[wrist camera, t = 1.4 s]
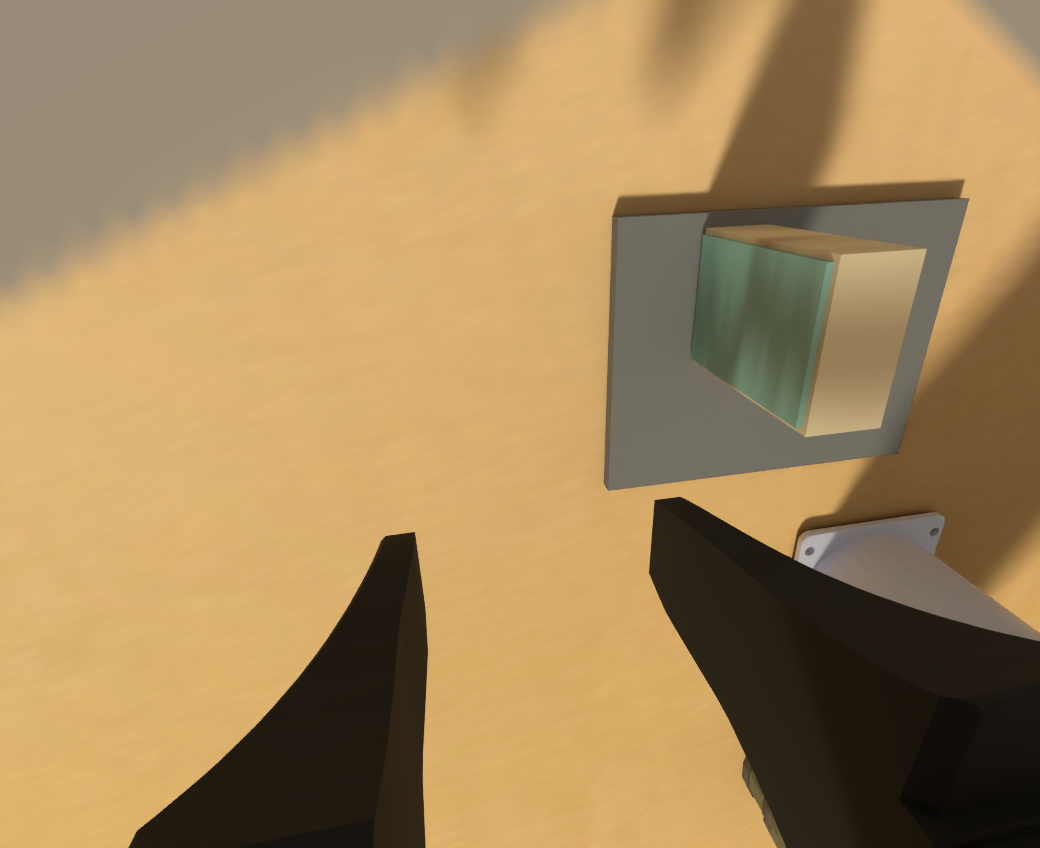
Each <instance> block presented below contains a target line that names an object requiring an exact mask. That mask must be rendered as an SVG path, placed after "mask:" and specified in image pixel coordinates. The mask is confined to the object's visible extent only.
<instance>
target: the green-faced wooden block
mask: <svg viewBox="0 0 1040 848" xmlns="http://www.w3.org/2000/svg"><path fill="white" fill-rule="evenodd" d="M926 251H927V249H925V248H919V247H912V246H906V245H899V244H893V243H886V242H880V241H873V240H867V239H860V238H854V237H847V236H841V235H834V234H828V233H822V232H815V231H809V230H802V229H796V228H789V227H783V226H776V225H770V224H762V225H745V226H728V227H711V228H706V234H704V235H703V239H702V249H701V259H700V270H699V280H698V290H697V300H696V311H695V321H694V331H693V342H692V352H691V359H693V362H695V363H696V364H698V365H699V366H701V367H702V368H704V369H705V370H707V371H708V372H710V373H711V374H713V375H714V376H716V377H717V378H718V379H720V380H721V381H723V382H724V383H726V384H727V385H729V386H730V387H732V388H733V389H735V390H736V391H738V392H739V393H741V394H742V395H744V396H745V397H747V398H748V399H749V400H751V401H752V402H754V403H755V404H757V405H758V406H760V407H761V408H763V409H764V410H766V411H767V412H769V413H770V414H772V415H773V416H775V417H776V418H778V419H779V420H780V421H782V422H783V423H785V424H786V425H788V426H789V427H791V428H792V429H794V430H795V431H797V432H798V433H800V434H801V435H803V436H804V437H810V436H819V435H827V434H835V433H844V432H852V431H860V430H868V429H877V428H881V424H882V420H883V416H884V412H885V408H886V405H887V401H888V397H889V393H890V389H891V385H892V381H893V378H894V374H895V370H896V366H897V362H898V358H899V354H900V351H901V347H902V343H903V339H904V335H905V331H906V328H907V324H908V320H909V316H910V312H911V308H912V304H913V301H914V297H915V293H916V289H917V285H918V281H919V278H920V274H921V270H922V266H923V262H924V258H925V254H926Z"/></svg>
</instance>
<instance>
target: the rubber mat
mask: <svg viewBox="0 0 1040 848" xmlns="http://www.w3.org/2000/svg"><path fill="white" fill-rule="evenodd" d="M968 202H969V199H967V198H945V199H926V200H908V201H889V202H871V203H852V204H834V205H815V206H797V207H778V208H760V209H741V210H723V211H704V212H686V213H667V214H649V215H630V216H613V219H612V250H611V281H610V313H609V344H608V375H607V406H606V437H605V468H604V484H605V486H606V488H607V489H608V491H610V490H618V489H626V488H634V487H641V486H649V485H657V484H665V483H672V482H680V481H688V480H696V479H703V478H711V477H719V476H727V475H735V474H742V473H750V472H758V471H766V470H773V469H781V468H789V467H797V466H804V465H812V464H820V463H828V462H835V461H843V460H851V459H859V458H867V457H874V456H882V455H890V454H898V451H899V448H900V444H901V441H902V437H903V434H904V430H905V426H906V423H907V419H908V416H909V412H910V409H911V405H912V401H913V398H914V394H915V391H916V387H917V384H918V380H919V376H920V373H921V369H922V366H923V362H924V359H925V355H926V351H927V348H928V344H929V341H930V337H931V334H932V330H933V326H934V323H935V319H936V316H937V312H938V309H939V305H940V301H941V298H942V294H943V291H944V287H945V284H946V280H947V277H948V273H949V269H950V266H951V262H952V259H953V255H954V252H955V248H956V244H957V241H958V237H959V234H960V230H961V227H962V223H963V219H964V216H965V212H966V209H967V205H968ZM762 224H770V225H776V226H783V227H789V228H796V229H802V230H809V231H815V232H822V233H828V234H834V235H841V236H847V237H854V238H860V239H867V240H873V241H880V242H886V243H893V244H899V245H906V246H912V247H919V248H925V249H927V251H926V254H925V258H924V262H923V266H922V270H921V274H920V278H919V281H918V285H917V289H916V293H915V297H914V301H913V304H912V308H911V312H910V316H909V320H908V324H907V328H906V331H905V335H904V339H903V343H902V347H901V351H900V354H899V358H898V362H897V366H896V370H895V374H894V378H893V381H892V385H891V389H890V393H889V397H888V401H887V405H886V408H885V412H884V416H883V420H882V424H881V428H877V429H868V430H860V431H852V432H844V433H835V434H827V435H819V436H810V437H804V436H803V435H801V434H800V433H798V432H797V431H795V430H794V429H792V428H791V427H789V426H788V425H786V424H785V423H783V422H782V421H780V420H779V419H778V418H776V417H775V416H773V415H772V414H770V413H769V412H767V411H766V410H764V409H763V408H761V407H760V406H758V405H757V404H755V403H754V402H752V401H751V400H749V399H748V398H747V397H745V396H744V395H742V394H741V393H739V392H738V391H736V390H735V389H733V388H732V387H730V386H729V385H727V384H726V383H724V382H723V381H721V380H720V379H718V378H717V377H716V376H714V375H713V374H711V373H710V372H708V371H707V370H705V369H704V368H702V367H701V366H699V365H698V364H696V363H695V362H693V359H691V352H692V342H693V331H694V321H695V311H696V300H697V290H698V280H699V270H700V259H701V249H702V239H703V235H704V234H706V228H711V227H728V226H745V225H762Z"/></svg>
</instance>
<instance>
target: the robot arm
mask: <svg viewBox="0 0 1040 848" xmlns="http://www.w3.org/2000/svg"><path fill="white" fill-rule="evenodd" d="M944 523H945V518H944V516H942V515H941V514H939V513H938V512H931V513H924V514H917V515H910V516H903V517H897V518H890V519H883V520H876V521H870V522H863V523H856V524H849V525H843V526H836V527H829V528H822V529H815V530H809V531H806V532H804V533H802V534H801V535H800V537H799V539H798V543H797V547H796V552H795V557H794V559H792V558H790V557H788V556H786V555H784V554H782V553H780V552H778V551H776V550H774V549H773V548H771V547H769V546H767V545H765V544H763V543H761V542H760V541H758V540H756V539H754V538H752V537H751V536H749V535H747V534H745V533H744V532H742V531H740V530H738V529H737V528H735V527H733V526H731V525H730V524H728V523H726V522H724V521H723V520H721V519H719V518H718V517H716V516H714V515H712V514H711V513H709V512H707V511H706V510H704V509H702V508H700V507H699V506H697V505H695V504H693V503H691V502H689V501H688V500H686V499H684V498H682V497H675V498H668V499H660V500H655V503H654V516H653V529H652V542H651V555H650V568H649V574H650V576H651V579H652V581H653V583H654V586H655V588H656V591H657V593H658V595H659V598H660V600H661V602H662V604H663V607H664V609H665V611H666V613H667V615H668V617H669V618H670V620H671V622H672V623H673V625H674V627H675V629H676V630H677V632H678V634H679V635H680V637H681V639H682V640H683V642H684V644H685V645H686V647H687V649H688V650H689V652H690V654H691V655H692V657H693V659H694V660H695V662H696V664H697V665H698V667H699V669H700V670H701V672H702V674H703V675H704V677H705V679H706V680H707V682H708V684H709V685H710V687H711V689H712V690H713V692H714V694H715V695H716V697H717V699H718V701H719V702H720V704H721V706H722V708H723V710H724V712H725V713H726V715H727V717H728V719H729V721H730V723H731V725H732V727H733V729H734V731H735V734H736V736H737V738H738V740H739V742H740V744H741V746H742V748H743V750H744V753H745V755H746V757H747V759H748V761H749V763H750V765H751V768H752V770H753V772H754V774H755V777H756V779H757V781H758V783H759V786H760V788H761V790H762V792H763V795H764V797H765V799H766V801H767V803H768V806H769V808H770V810H771V812H772V815H773V817H774V820H775V822H776V824H777V827H778V829H779V832H780V834H781V836H782V839H783V841H784V844H785V846H786V848H1040V633H1039V632H1038V631H1036V630H1035V629H1033V628H1032V627H1031V626H1029V625H1028V624H1027V623H1025V622H1024V621H1023V620H1021V619H1020V618H1019V617H1017V616H1016V615H1014V614H1013V613H1012V612H1010V611H1009V610H1008V609H1006V608H1005V607H1004V606H1002V605H1001V604H1000V603H998V602H997V601H995V600H994V599H993V598H991V597H990V596H989V595H987V594H986V593H985V592H983V591H982V590H981V589H979V588H978V587H976V586H975V585H974V584H972V583H971V582H970V581H968V580H967V579H966V578H964V577H963V576H961V575H960V574H959V573H957V572H956V571H955V570H953V569H952V568H951V567H949V566H948V565H947V564H945V563H944V562H942V561H941V560H940V559H938V558H937V557H936V556H934V553H935V550H936V547H937V544H938V541H939V538H940V535H941V532H942V529H943V526H944ZM806 549H807V550H806ZM427 659H428V645H427V628H426V612H425V602H424V595H423V588H422V580H421V573H420V566H419V559H418V551H417V544H416V537H415V532H412V533H405V534H397V535H390V536H385V537H384V538H383V540H382V541H381V542H380V545H379V548H378V550H377V552H376V555H375V557H374V559H373V561H372V563H371V566H370V568H369V570H368V572H367V574H366V576H365V577H364V579H363V581H362V583H361V585H360V587H359V588H358V590H357V592H356V594H355V596H354V597H353V599H352V601H351V603H350V604H349V606H348V608H347V609H346V611H345V613H344V614H343V616H342V617H341V619H340V620H339V622H338V623H337V625H336V626H335V628H334V629H333V631H332V633H331V634H330V636H329V637H328V639H327V640H326V642H325V643H324V644H323V646H322V647H321V649H320V650H319V651H318V653H317V654H316V655H315V657H314V658H313V659H312V661H311V662H310V663H309V665H308V666H307V667H306V668H305V670H304V671H303V672H302V674H301V675H300V676H299V677H298V679H297V680H296V681H295V682H294V683H293V685H292V686H291V687H290V688H289V689H288V690H287V692H286V693H285V694H284V695H283V696H282V697H281V698H280V700H279V701H278V702H277V703H276V704H275V705H274V707H273V708H272V709H271V710H270V711H269V712H268V713H267V714H266V715H265V716H264V717H263V719H262V720H261V721H260V722H259V723H258V724H257V725H256V726H255V727H254V728H253V729H252V730H251V731H250V732H249V733H248V734H247V735H246V736H245V737H244V738H243V739H242V740H241V741H240V742H239V743H238V744H237V745H236V746H235V747H234V748H233V749H232V750H231V751H230V752H229V753H228V754H226V755H225V756H224V757H223V758H222V759H221V760H220V761H219V762H218V763H217V764H216V765H215V766H214V767H213V768H212V769H210V770H209V771H208V772H207V773H206V774H205V775H204V776H203V777H201V778H200V779H199V780H198V781H197V782H196V783H194V784H193V785H192V786H191V787H190V788H188V789H187V790H186V791H185V792H184V793H183V794H181V795H180V796H179V797H178V798H177V799H175V800H174V801H173V802H172V803H171V804H169V805H168V806H167V807H166V808H165V809H163V810H162V811H161V812H160V813H159V814H157V815H156V816H155V817H154V818H153V819H151V820H150V821H149V822H148V823H146V824H145V825H144V826H143V827H141V828H140V829H139V830H138V831H137V832H136V834H135V836H134V838H133V840H132V842H131V844H130V846H129V848H425V825H424V801H423V741H424V721H425V701H426V680H427Z"/></svg>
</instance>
